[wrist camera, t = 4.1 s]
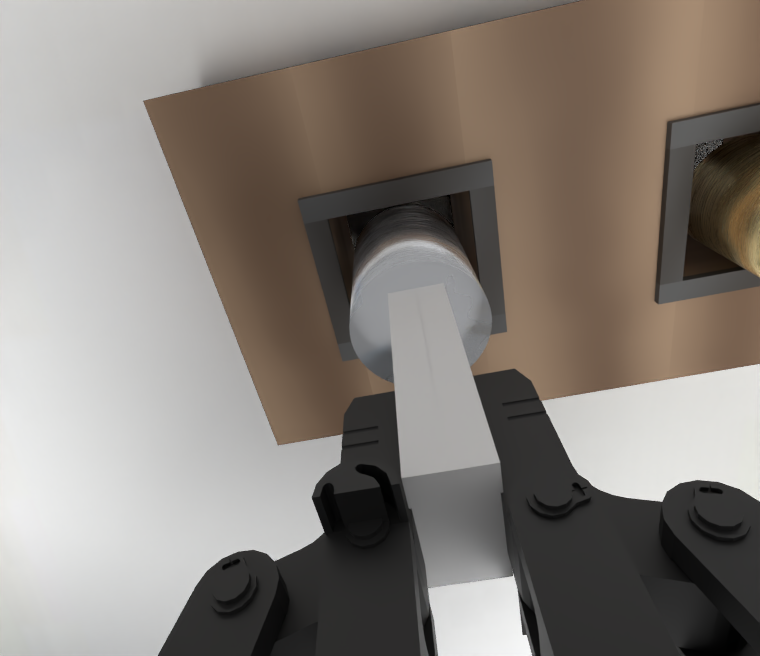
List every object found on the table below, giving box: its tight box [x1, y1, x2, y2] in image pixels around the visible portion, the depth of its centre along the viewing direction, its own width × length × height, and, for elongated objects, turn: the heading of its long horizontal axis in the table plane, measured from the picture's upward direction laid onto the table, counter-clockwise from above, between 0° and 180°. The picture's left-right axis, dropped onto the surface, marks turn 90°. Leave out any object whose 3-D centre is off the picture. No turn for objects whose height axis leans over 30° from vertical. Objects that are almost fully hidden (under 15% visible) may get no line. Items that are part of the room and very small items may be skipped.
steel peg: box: [349, 205, 492, 383], centre depth 17 cm, size 4×4×6 cm
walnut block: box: [143, 0, 760, 445], centre depth 20 cm, size 26×14×6 cm, turn 101°
